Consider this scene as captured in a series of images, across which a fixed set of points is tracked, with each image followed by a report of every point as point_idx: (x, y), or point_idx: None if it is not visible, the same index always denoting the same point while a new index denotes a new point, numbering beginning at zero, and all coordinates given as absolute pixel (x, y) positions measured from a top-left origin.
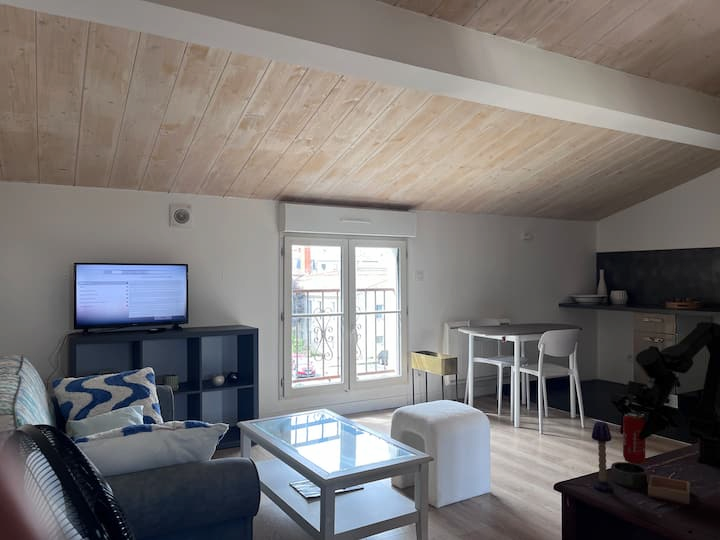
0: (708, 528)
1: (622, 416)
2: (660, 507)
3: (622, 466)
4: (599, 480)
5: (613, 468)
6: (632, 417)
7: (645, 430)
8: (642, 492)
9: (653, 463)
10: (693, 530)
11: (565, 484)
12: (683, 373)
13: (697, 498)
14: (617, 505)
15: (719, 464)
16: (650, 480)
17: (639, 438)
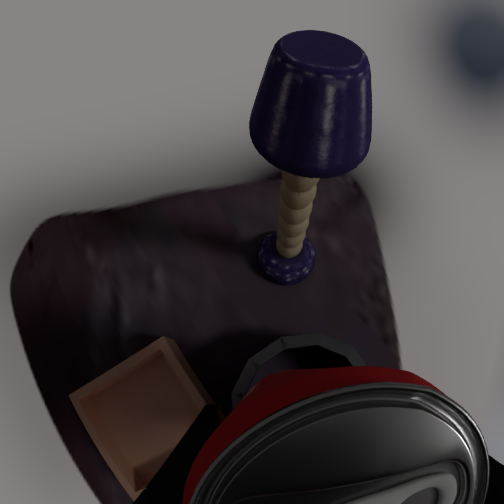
0: (15, 295)
1: (501, 468)
2: (111, 302)
3: None
4: (302, 247)
5: (331, 338)
6: (277, 411)
7: (166, 461)
8: (206, 356)
9: None
10: (27, 257)
11: (351, 184)
12: None
13: None
14: (179, 204)
15: None
16: (198, 400)
17: (212, 406)
